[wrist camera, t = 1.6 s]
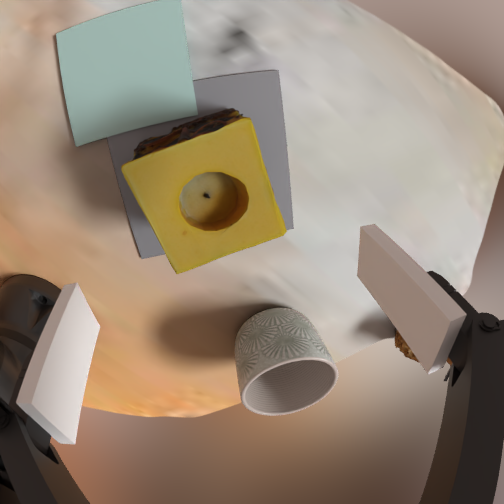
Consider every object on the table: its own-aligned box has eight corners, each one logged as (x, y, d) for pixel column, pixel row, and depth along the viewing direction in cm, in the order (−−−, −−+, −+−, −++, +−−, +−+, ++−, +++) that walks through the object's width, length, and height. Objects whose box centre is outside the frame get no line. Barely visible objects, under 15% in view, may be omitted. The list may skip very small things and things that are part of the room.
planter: (212, 325, 42) (220, 389, 32) (292, 282, 40) (321, 341, 31) (254, 368, 48) (268, 424, 39) (322, 334, 47) (348, 387, 37)
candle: (137, 141, 28) (114, 165, 19) (233, 104, 28) (251, 110, 19) (176, 226, 33) (171, 278, 25) (263, 194, 33) (289, 235, 25)
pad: (77, 146, 27) (75, 147, 26) (58, 34, 20) (56, 33, 20) (198, 114, 28) (198, 114, 28) (180, -3, 21) (180, -4, 21)
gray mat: (142, 257, 35) (141, 259, 34) (100, 104, 25) (99, 104, 25) (292, 227, 36) (293, 228, 36) (277, 70, 27) (278, 70, 27)
